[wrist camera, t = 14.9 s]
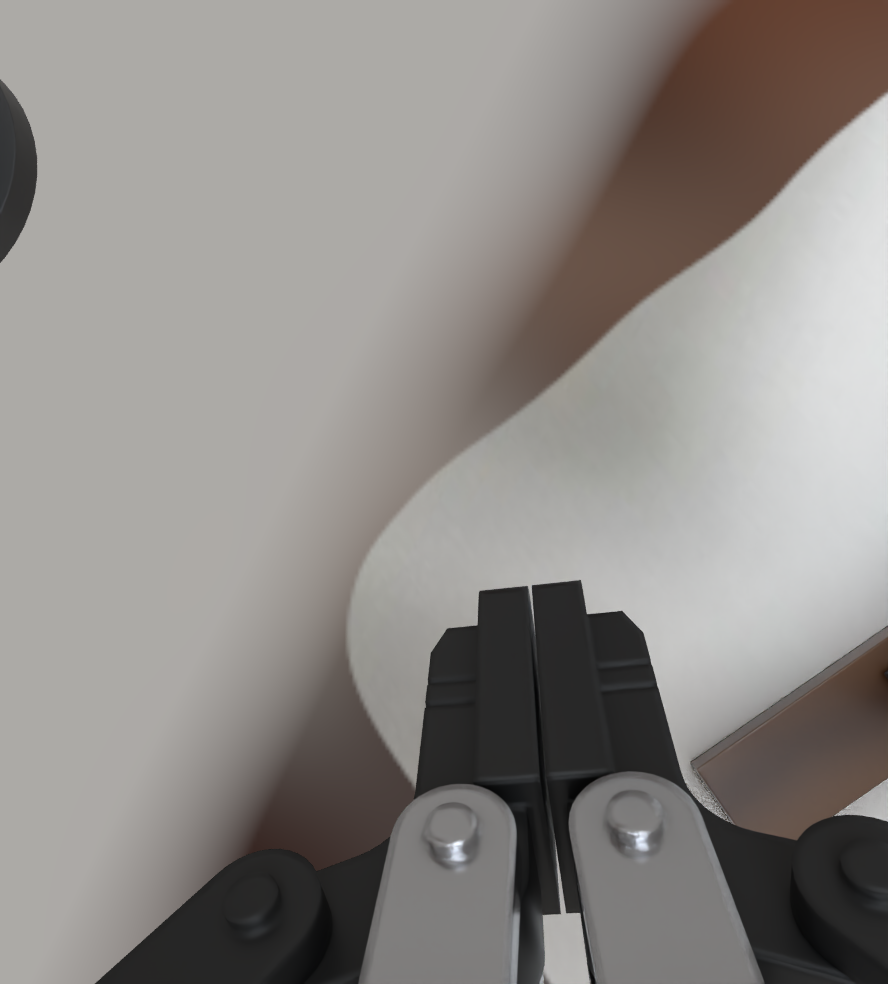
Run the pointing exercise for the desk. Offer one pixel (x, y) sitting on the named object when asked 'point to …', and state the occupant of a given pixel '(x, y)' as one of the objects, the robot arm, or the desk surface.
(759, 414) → the desk surface
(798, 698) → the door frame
